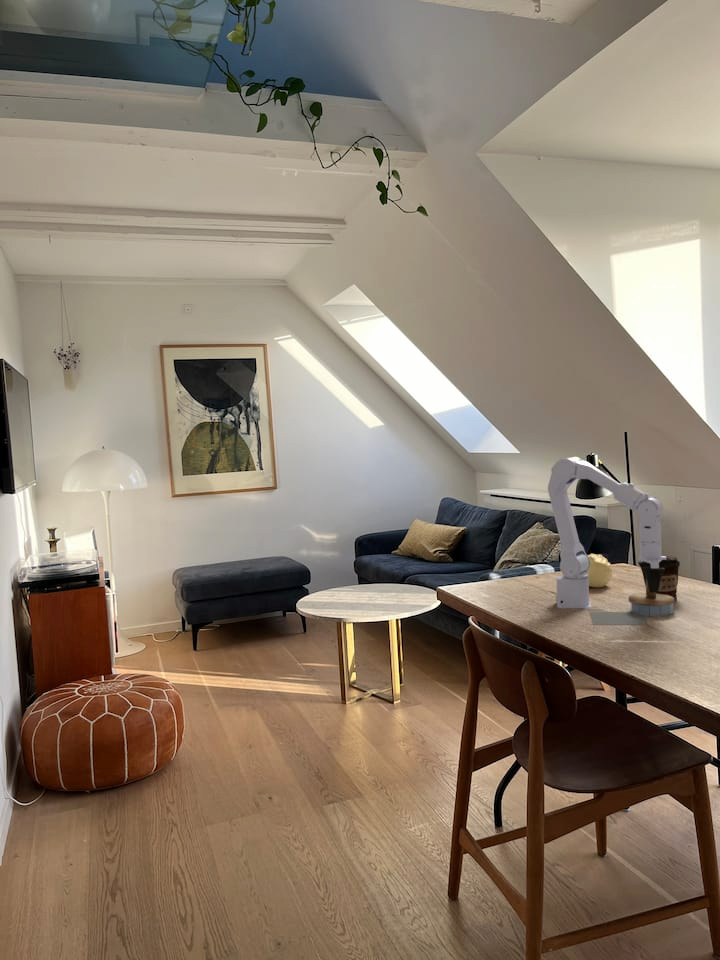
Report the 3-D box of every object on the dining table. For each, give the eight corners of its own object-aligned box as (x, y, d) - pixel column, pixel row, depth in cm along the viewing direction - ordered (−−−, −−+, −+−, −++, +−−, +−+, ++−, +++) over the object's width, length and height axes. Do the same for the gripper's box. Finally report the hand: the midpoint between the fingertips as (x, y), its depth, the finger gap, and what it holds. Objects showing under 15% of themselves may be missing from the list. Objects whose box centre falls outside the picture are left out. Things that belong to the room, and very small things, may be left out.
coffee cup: (683, 604, 223) (682, 560, 223) (653, 604, 225) (652, 560, 224) (677, 597, 232) (676, 555, 231) (648, 597, 234) (647, 555, 233)
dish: (634, 617, 211) (633, 605, 211) (629, 608, 222) (628, 596, 222) (676, 618, 209) (676, 605, 208) (669, 608, 219) (669, 596, 219)
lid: (633, 606, 210) (632, 585, 210) (624, 596, 222) (624, 576, 221) (679, 605, 208) (678, 584, 208) (668, 595, 220) (667, 575, 220)
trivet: (593, 626, 204) (593, 624, 204) (589, 613, 218) (589, 611, 218) (648, 626, 201) (648, 625, 201) (641, 613, 215) (641, 612, 215)
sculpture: (612, 590, 247) (611, 556, 246) (573, 589, 251) (572, 556, 250) (612, 582, 258) (611, 550, 257) (575, 582, 261) (574, 550, 261)
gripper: (670, 545, 206) (671, 595, 207) (661, 537, 220) (662, 584, 221) (642, 545, 208) (643, 595, 208) (635, 537, 222) (636, 584, 223)
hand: (651, 589), depth 215 cm, fingers open, 7 cm apart
